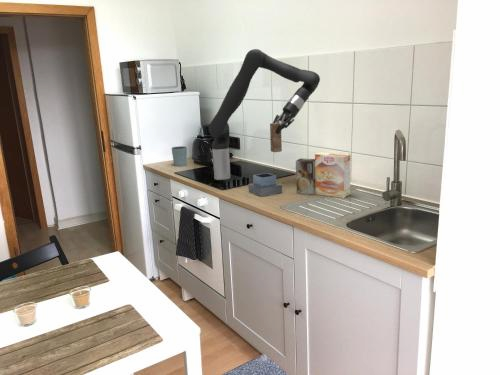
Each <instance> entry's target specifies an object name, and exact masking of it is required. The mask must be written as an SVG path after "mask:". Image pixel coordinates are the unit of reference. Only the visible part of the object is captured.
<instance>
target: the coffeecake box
mask: <svg viewBox="0 0 500 375" xmlns="http://www.w3.org/2000/svg"><path fill="white" fill-rule="evenodd" d="M351 156H352V155H351V153H341V152H330V151H320V152H316V153H315V154H314V159H315V194H314V195H320V196H326V197H332V196H333V197H334V198H340V199H346V196H347V197H348V196H350V195H351V161H352V160H351Z"/></svg>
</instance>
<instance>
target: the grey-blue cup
mask: <svg viewBox="0 0 500 375" xmlns="http://www.w3.org/2000/svg"><path fill="white" fill-rule="evenodd" d="M171 154H172V162H173V166H174V167H185V166H187V164H188V162H187V161H188V160H187V157H188V155H187V154H188V148H187V146H185V145H183V146H182V145H180V146H172V147H171Z"/></svg>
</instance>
